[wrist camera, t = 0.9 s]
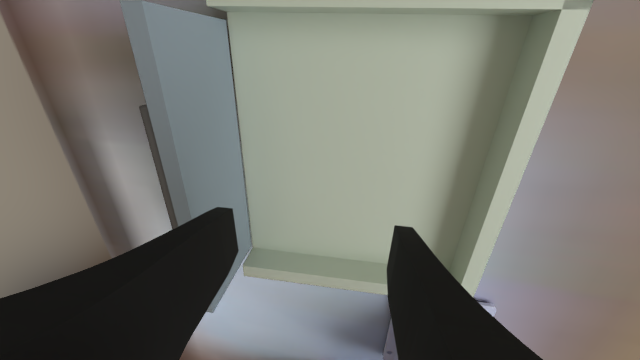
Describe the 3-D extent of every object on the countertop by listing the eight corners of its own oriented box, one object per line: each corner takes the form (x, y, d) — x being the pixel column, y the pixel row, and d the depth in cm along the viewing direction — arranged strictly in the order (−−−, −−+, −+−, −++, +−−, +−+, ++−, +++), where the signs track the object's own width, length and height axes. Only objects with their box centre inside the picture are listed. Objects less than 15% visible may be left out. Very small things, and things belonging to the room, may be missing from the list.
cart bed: (453, 268, 21) (469, 306, 18) (260, 245, 23) (244, 275, 20) (544, -5, 13) (602, -22, 10) (236, -6, 15) (203, -21, 12)
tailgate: (251, 245, 21) (212, 312, 15) (230, 242, 21) (185, 308, 16) (226, 20, 14) (141, 0, 9) (196, 19, 14) (95, 0, 9)
